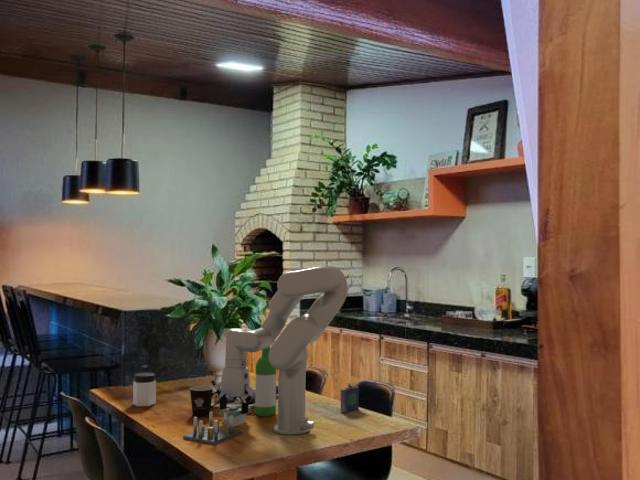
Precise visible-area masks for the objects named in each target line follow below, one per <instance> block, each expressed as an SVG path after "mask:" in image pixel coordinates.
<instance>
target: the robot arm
mask: <svg viewBox="0 0 640 480" xmlns="http://www.w3.org/2000/svg"><path fill="white" fill-rule="evenodd" d="M276 286H277V287H276V288H277V290H276V292H275V293H274V295H272V297H271V299H270V300H269V301H268V308H269V313H268V314H267V317H266V319H265V320H264V321H263V323H262V324H261V325H260V327H259V328H256V329H253V330H248V331H247V330H246V329H244V328H241V327H240V328H239V327H238V328H237V327H234V328H229V329H227V331H226V334H225V354H224V356H225V357H224V358H225V360H224V366H223V368H222V374H221V380H220V382H218V383H215V385H214V388H215V390H216V391H215V392H217V393H216V394H217V395H218V398H219V400H220V402H219V411H221V410H224V409H227V408H228V407H227V404H228V397H227V396H232V397H237V398H240V399H241V400H242V402H241V405H242V408H241V414H246V415H247V414H248V413H249V412H248V409H249V407H250V402H251V401H252V400H253V399H254V396H255V392H256V390H254V389H253V388H252V387H251V382H250V381H251V380H250V373H249V372H250V371H249V368H248V367H247V366H249V362H248V361H247V355H248V354H247V353H257V352H260V351H262V350H263V349H266V348H268V347H269V346H270V350H269V355H268V358H269V362H270V364H271V365H272V367H274V368H275V369H276V371H278V374H277V375H278V376H277V377H278V378H277V386H278V394H277V423H275V425H273V428H272V429H273V431H274V432H275V433H277V434H281V435H287V436H288V435H292V436H293V435H301V434H305V433H309V431H310V430H314V428H315V422H314V421H309V417H308V416H306V378H307V377H306V375H307V374H306V373H307V365H308V356H309V354H308V348H307V347H308V346H309V344H312V343H314V342H316V341H317V340H318V339H320V337H321V336H322V334H323V333H324V331H325V330H326V329H327V327H328V326H329V325H330V323H331V322H332V321H333V319H334V318H335V316H336V314H337V313H338V312H339V311H340V309H341V308H342V307H343V305H344V303H345V301H346V298H347V296H348V292H349V291H348V290H349V289H348V288H349V287H348V286H349V285H348V281H347V277H346V276H345V274H344V272H343V271H342V270H341V269H339V268H338V267H336V266H332V265H329V266H328V265H326V266H316V267H312V268H306V269H301V270H295V271H293V270H291V271H287V272H284V273H283V274H281V275H280V276H279V278H278V280H277V285H276ZM319 293H321V294H320V295H319V296H318V297H317V298H316V299H315V301H313V303H312V304H311V306H310V307H309V309H308V310H307V311H306V312H305V313H304V314H303V315H300V316H298V317H295V318H293V319H292V320H291V321H290V322H288V320H289V319H288V318H289V316H290V315H291V314H292V313H293V311H294V310H295V308H296V307H297V306H298V304H299V303H300V301H301V300H302V299H303V297H304V296H306V295H312V294H313V295H314V294H319ZM287 322H288V324H287V325H286V323H287Z"/></svg>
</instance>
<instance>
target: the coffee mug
mask: <svg viewBox="0 0 640 480" xmlns="http://www.w3.org/2000/svg"><path fill="white" fill-rule="evenodd" d="M213 391H214V387H213V386H211V385H209V386H208V385H197V386H192V387H190V388H189V393H190V394H189V395H190V401H191V411H192V413H191V414H192V416H193V417H197V418H204V417H203V416H205V417H208V416H207V415H209V412H211V409H212V408H213V407H214V406H216V405H218V404H220V399H219V400H218V401H217V402H215V403H214V404H212V402H213V401H212V400H213V397H214V396H215V394H217V392H216V391H214V392H213Z"/></svg>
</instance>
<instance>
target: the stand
mask: <svg viewBox="0 0 640 480" xmlns="http://www.w3.org/2000/svg"><path fill="white" fill-rule="evenodd" d="M227 422H228V428H230V417H229V416H227ZM246 423H247V413H246V414H242V415H239V416H236V417H233V428H235V427H238V426H240V425H242V424H246Z"/></svg>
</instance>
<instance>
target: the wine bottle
mask: <svg viewBox="0 0 640 480" xmlns="http://www.w3.org/2000/svg"><path fill="white" fill-rule="evenodd" d="M270 348H271V345H270V346H269V347H268V348H266V349H263V350H261V357H259V358H258V359H257V361H256V363H255V394H254V396H255V397H254V398H255V401H254V403H255V406H254V407H255V414H256V415H257V416H259V417H272V416H274V415H275V414H276V412H277V408H276V407H277V395H276V386H277V369H275V368H274V367H272V365H271V364H270V362H269V358H268V355H269V350H270Z"/></svg>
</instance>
